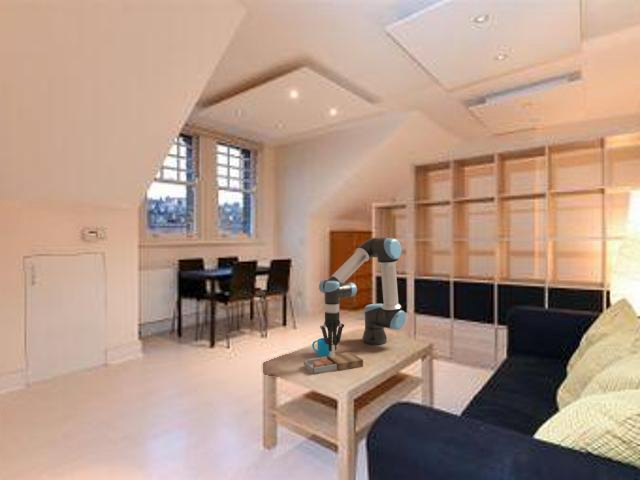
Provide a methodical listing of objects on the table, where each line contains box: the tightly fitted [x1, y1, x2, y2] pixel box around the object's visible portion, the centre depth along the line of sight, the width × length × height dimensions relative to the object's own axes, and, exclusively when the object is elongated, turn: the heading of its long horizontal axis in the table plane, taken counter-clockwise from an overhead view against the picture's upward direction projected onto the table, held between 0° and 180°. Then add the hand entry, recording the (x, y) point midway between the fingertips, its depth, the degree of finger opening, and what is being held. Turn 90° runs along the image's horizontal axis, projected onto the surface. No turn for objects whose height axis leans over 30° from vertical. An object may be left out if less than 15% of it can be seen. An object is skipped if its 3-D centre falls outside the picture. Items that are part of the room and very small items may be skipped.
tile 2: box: [320, 356, 333, 365], centre depth 202 cm, size 4×4×2 cm
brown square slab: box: [327, 351, 364, 372], centre depth 206 cm, size 14×14×4 cm
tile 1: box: [313, 361, 325, 368], centre depth 200 cm, size 4×4×2 cm
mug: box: [311, 337, 330, 358], centre depth 222 cm, size 12×8×8 cm
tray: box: [303, 357, 338, 375], centre depth 200 cm, size 13×12×3 cm
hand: (332, 357), depth 203 cm, fingers closed
